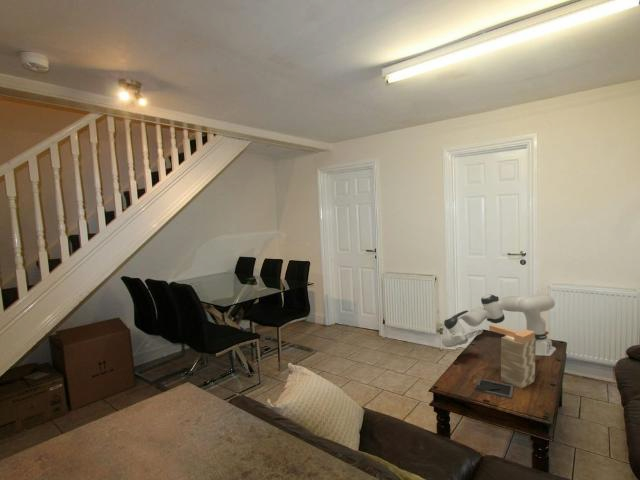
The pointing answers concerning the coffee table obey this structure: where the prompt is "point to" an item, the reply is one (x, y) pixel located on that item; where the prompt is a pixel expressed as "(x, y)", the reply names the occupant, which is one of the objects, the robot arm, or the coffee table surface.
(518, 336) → the t bar
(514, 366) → the pedestal
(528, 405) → the coffee table surface
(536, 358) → the mug
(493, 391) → the picture frame
